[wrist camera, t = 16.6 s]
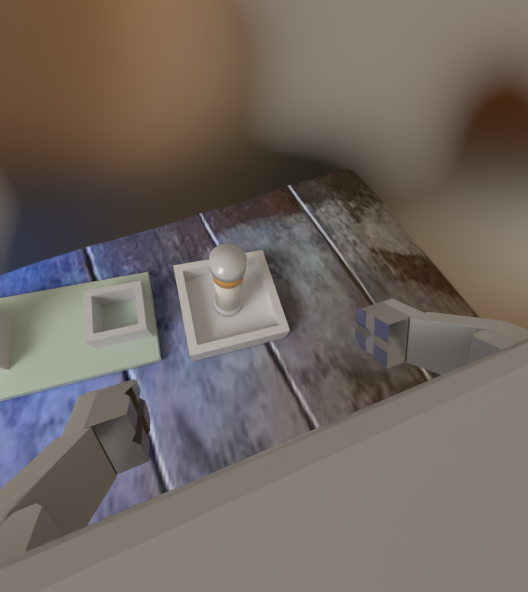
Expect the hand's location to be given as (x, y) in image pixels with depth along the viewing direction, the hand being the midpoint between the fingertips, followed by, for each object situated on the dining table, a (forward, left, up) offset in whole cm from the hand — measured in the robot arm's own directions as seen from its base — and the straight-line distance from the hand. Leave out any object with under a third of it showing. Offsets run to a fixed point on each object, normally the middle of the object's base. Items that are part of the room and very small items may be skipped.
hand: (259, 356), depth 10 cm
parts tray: (+12, -2, -24) cm, 27 cm away
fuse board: (+13, +19, -24) cm, 33 cm away
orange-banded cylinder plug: (+12, -2, -24) cm, 27 cm away
